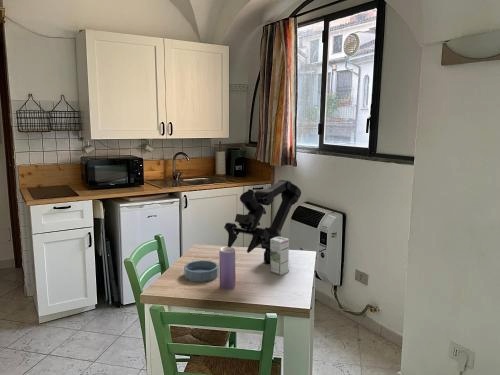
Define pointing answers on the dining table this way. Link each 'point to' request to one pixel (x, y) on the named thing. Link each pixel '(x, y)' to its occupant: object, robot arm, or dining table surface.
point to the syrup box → (279, 255)
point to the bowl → (201, 271)
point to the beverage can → (227, 268)
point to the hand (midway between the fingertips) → (237, 250)
